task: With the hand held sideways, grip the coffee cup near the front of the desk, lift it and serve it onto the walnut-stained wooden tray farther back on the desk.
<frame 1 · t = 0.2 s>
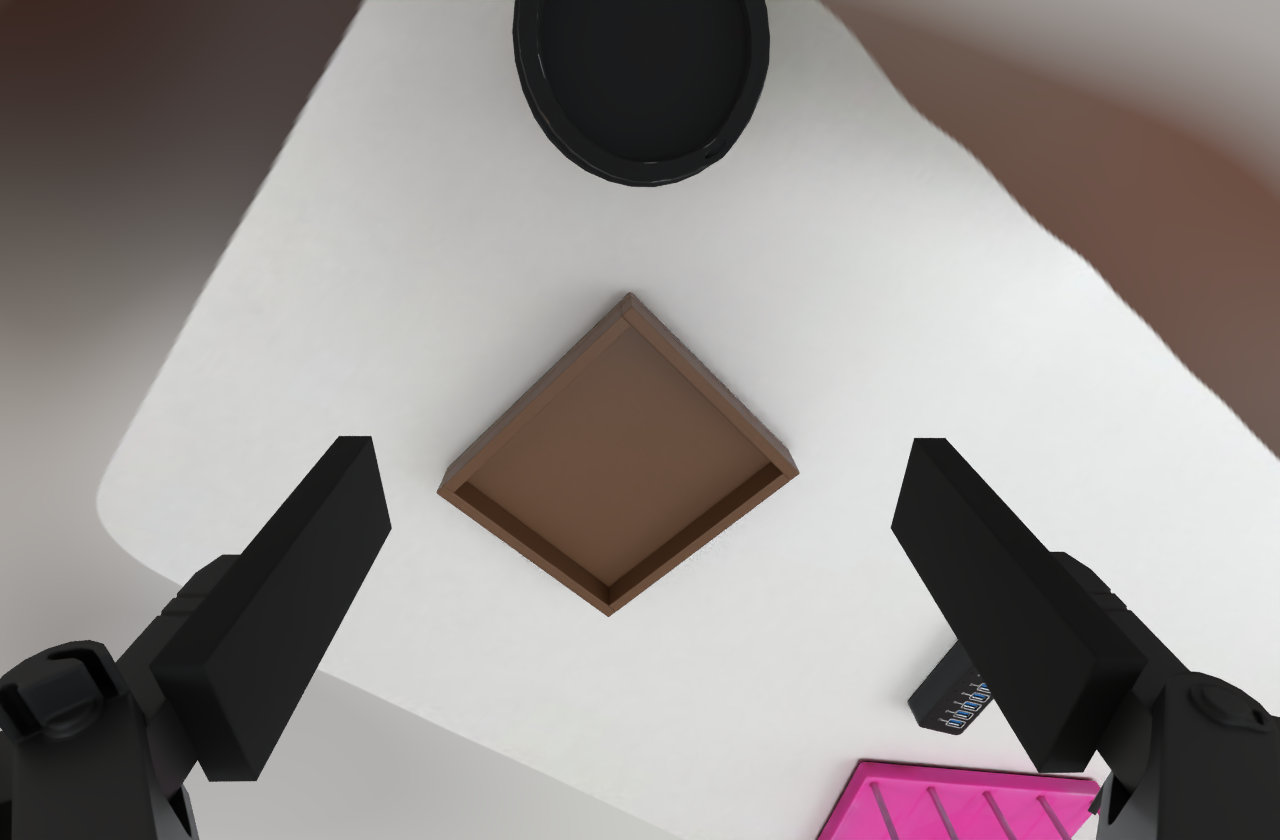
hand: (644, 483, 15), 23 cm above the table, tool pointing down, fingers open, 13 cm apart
multiport hub: (960, 666, 53), on the table
coffee cup: (633, 68, 32), on the table
file sorter: (943, 818, 64), on the table
tray: (618, 459, 42), on the table
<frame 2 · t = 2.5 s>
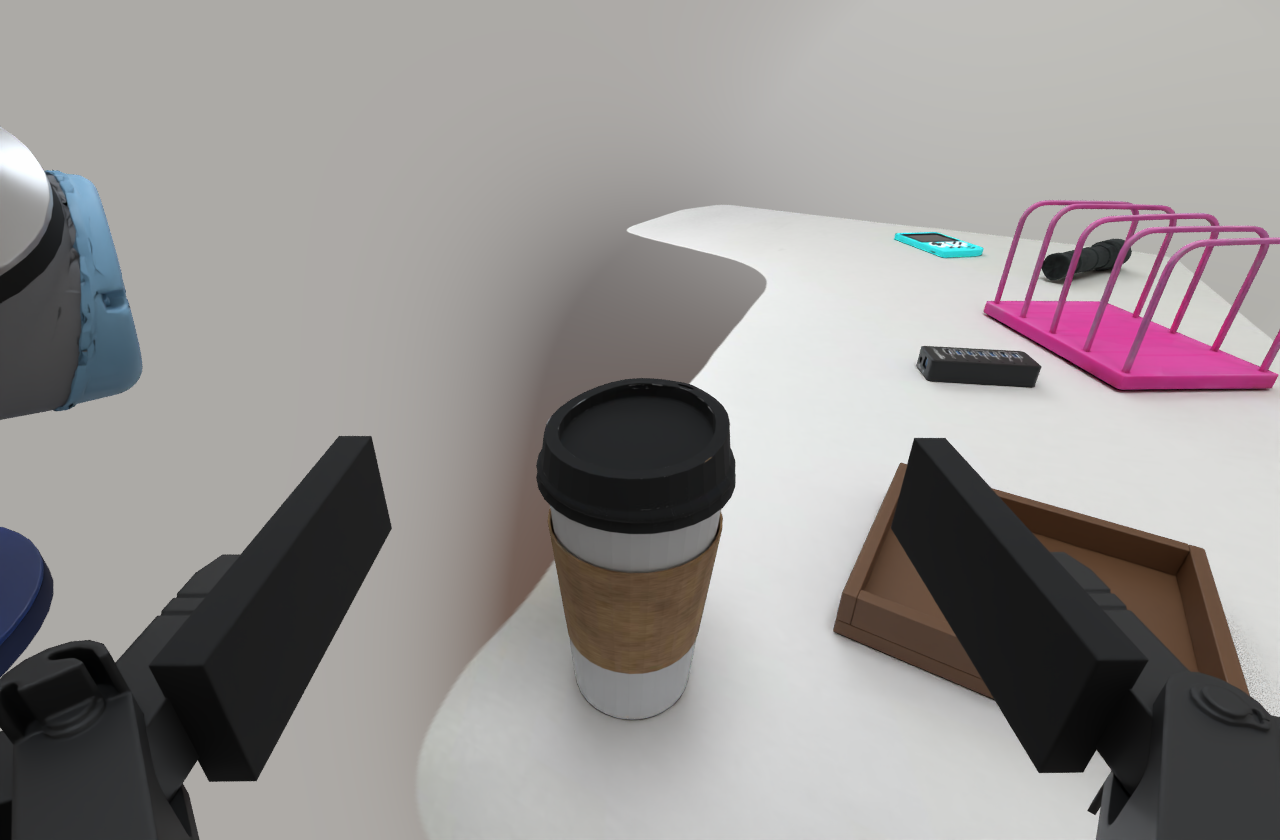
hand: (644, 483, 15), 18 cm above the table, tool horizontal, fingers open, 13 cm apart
multiport hub: (973, 377, 66), on the table
coffee cup: (632, 671, 32), on the table
flashlight: (1080, 275, 105), on the table
handheld game console: (937, 248, 121), on the table
file sorter: (1106, 348, 75), on the table
tray: (1017, 607, 36), on the table
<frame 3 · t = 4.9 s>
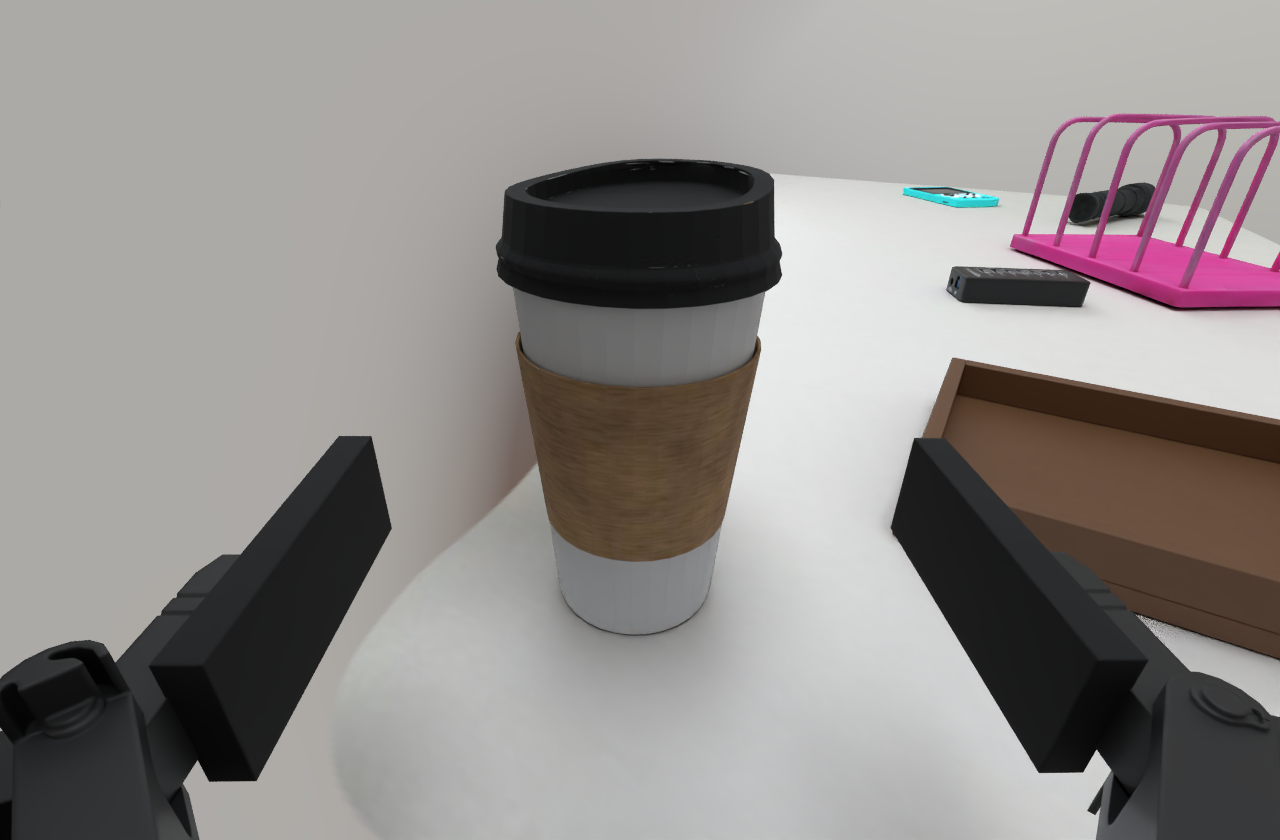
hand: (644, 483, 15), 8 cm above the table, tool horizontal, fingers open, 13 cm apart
multiport hub: (1011, 299, 59), on the table
coffee cup: (634, 581, 24), on the table
flashlight: (1106, 220, 98), on the table
handheld game console: (949, 200, 114), on the table
file sorter: (1150, 275, 68), on the table
tray: (1118, 507, 29), on the table
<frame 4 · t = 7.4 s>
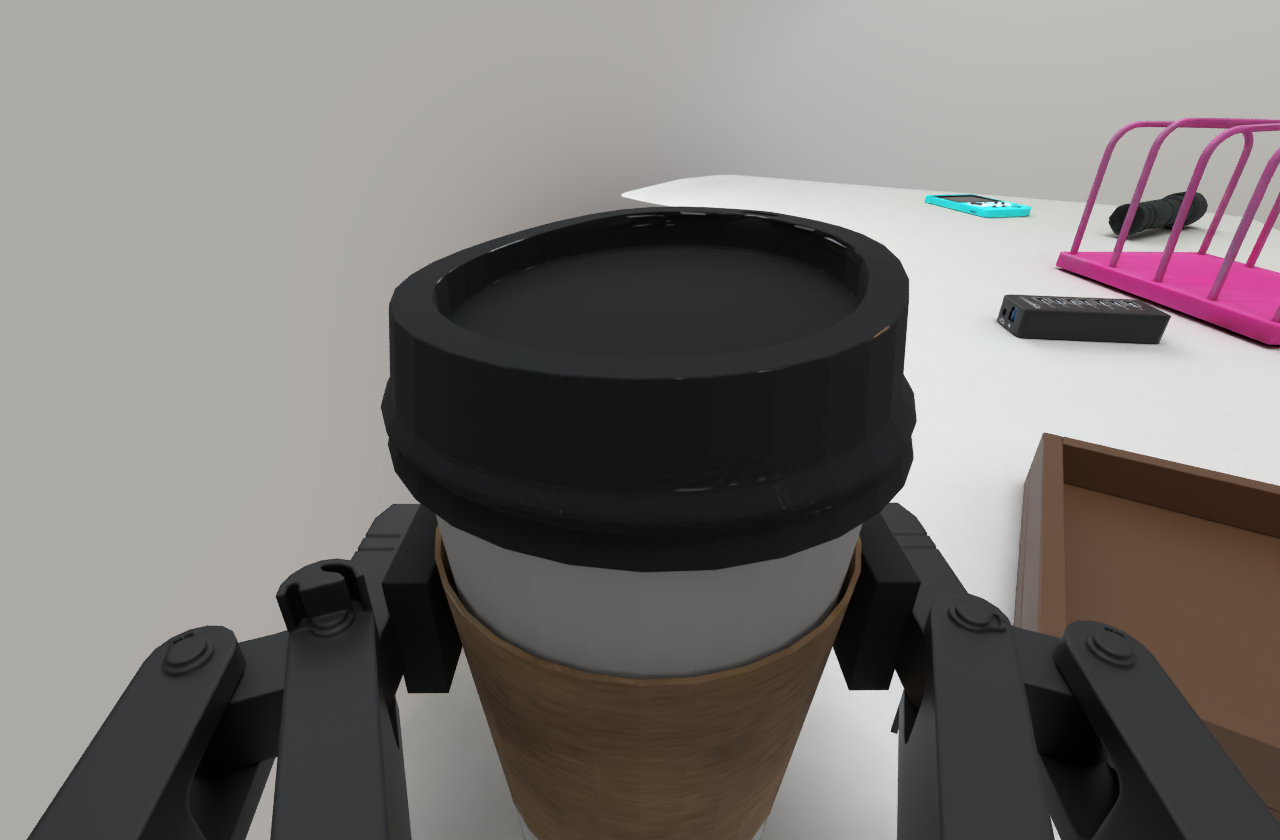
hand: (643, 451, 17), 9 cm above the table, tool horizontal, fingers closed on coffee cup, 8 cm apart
multiport hub: (1073, 333, 51), on the table
coffee cup: (641, 823, 16), on the table, touching gripper
flashlight: (1151, 232, 90), on the table
handheld game console: (976, 209, 106), on the table
file sorter: (1222, 301, 60), on the table
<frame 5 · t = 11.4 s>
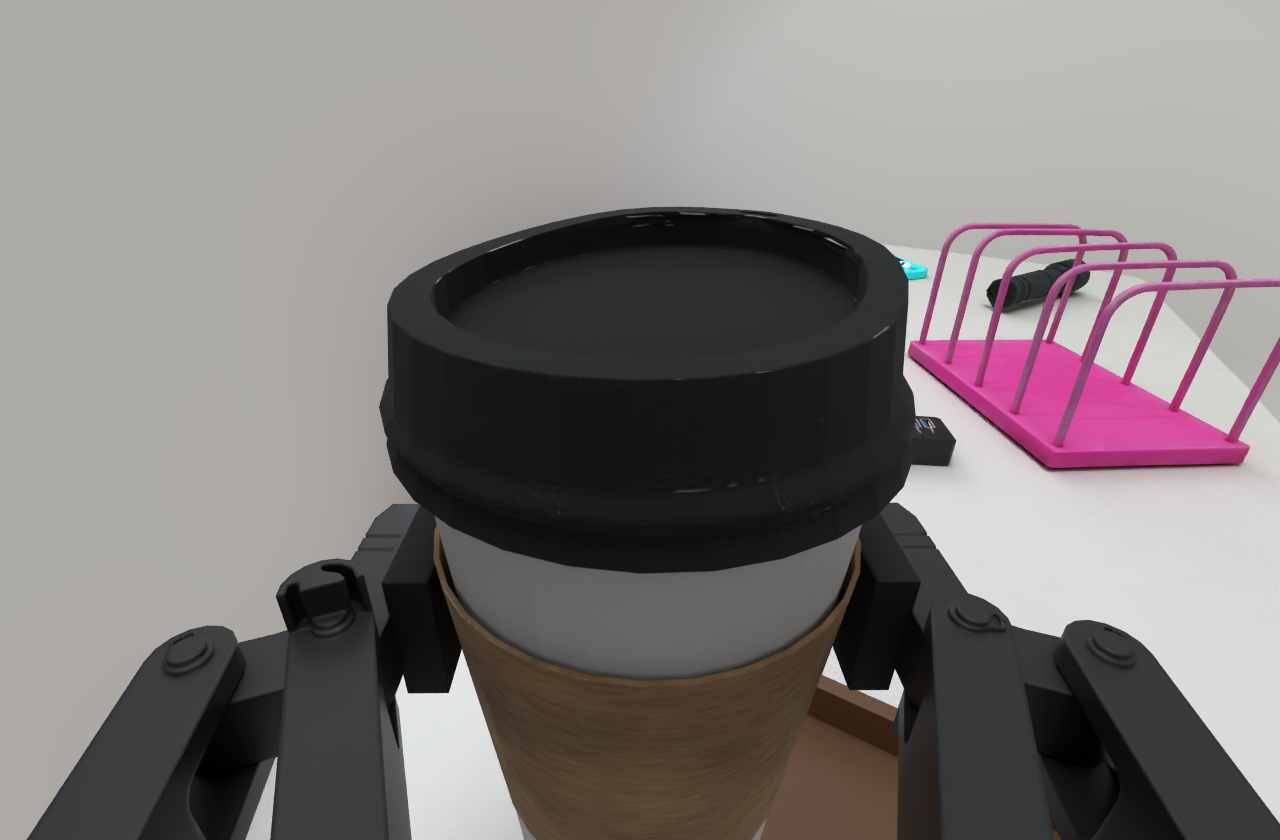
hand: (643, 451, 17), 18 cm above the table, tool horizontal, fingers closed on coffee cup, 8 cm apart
multiport hub: (875, 450, 53), on the table
coffee cup: (640, 824, 16), point 10 cm above the table, touching gripper
flashlight: (1033, 301, 92), on the table
handheld game console: (878, 268, 108), on the table
file sorter: (1045, 402, 62), on the table
when the fingers open (9 cm above the table, at t = 15.2 s): coffee cup stays where it is, resting on tray.
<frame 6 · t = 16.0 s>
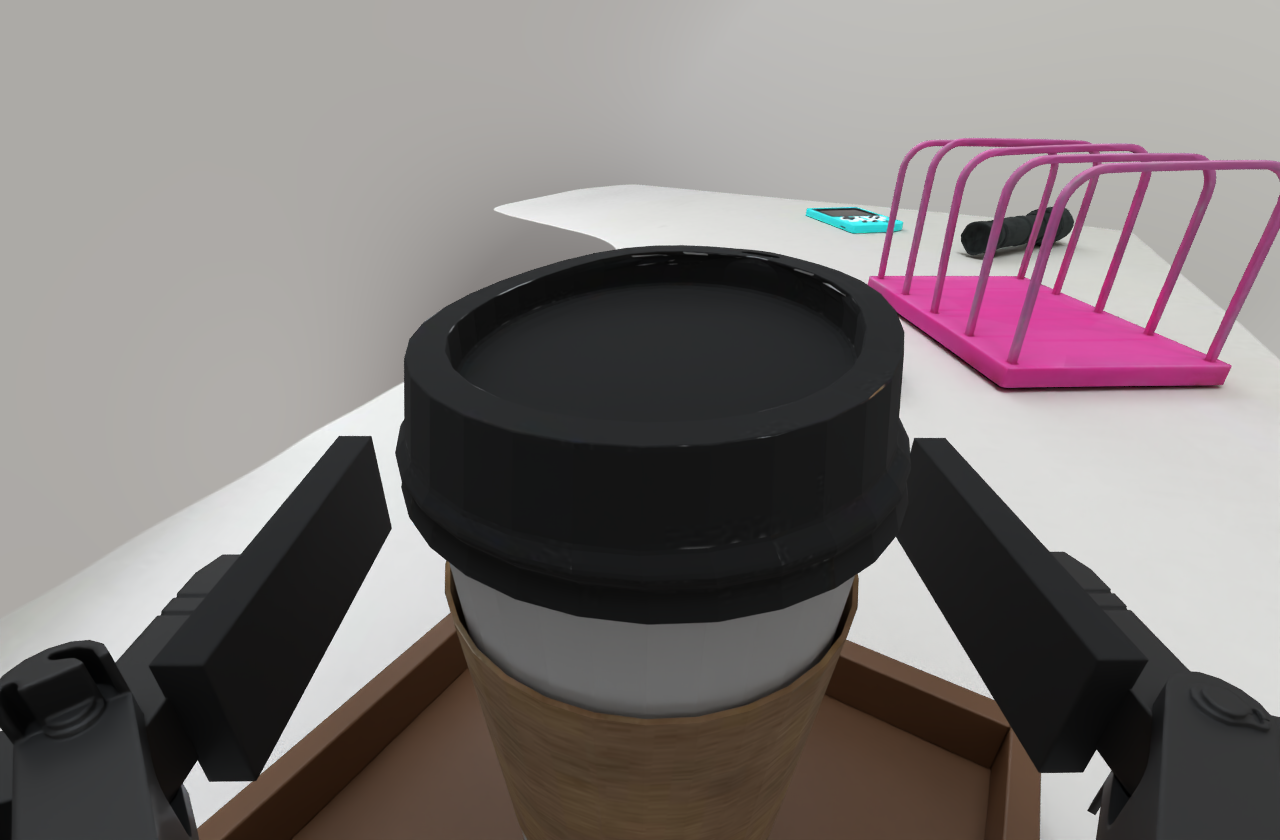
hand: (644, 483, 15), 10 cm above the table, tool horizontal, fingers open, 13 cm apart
flashlight: (1012, 250, 87), on the table
handheld game console: (852, 223, 102), on the table
file sorter: (1010, 333, 56), on the table
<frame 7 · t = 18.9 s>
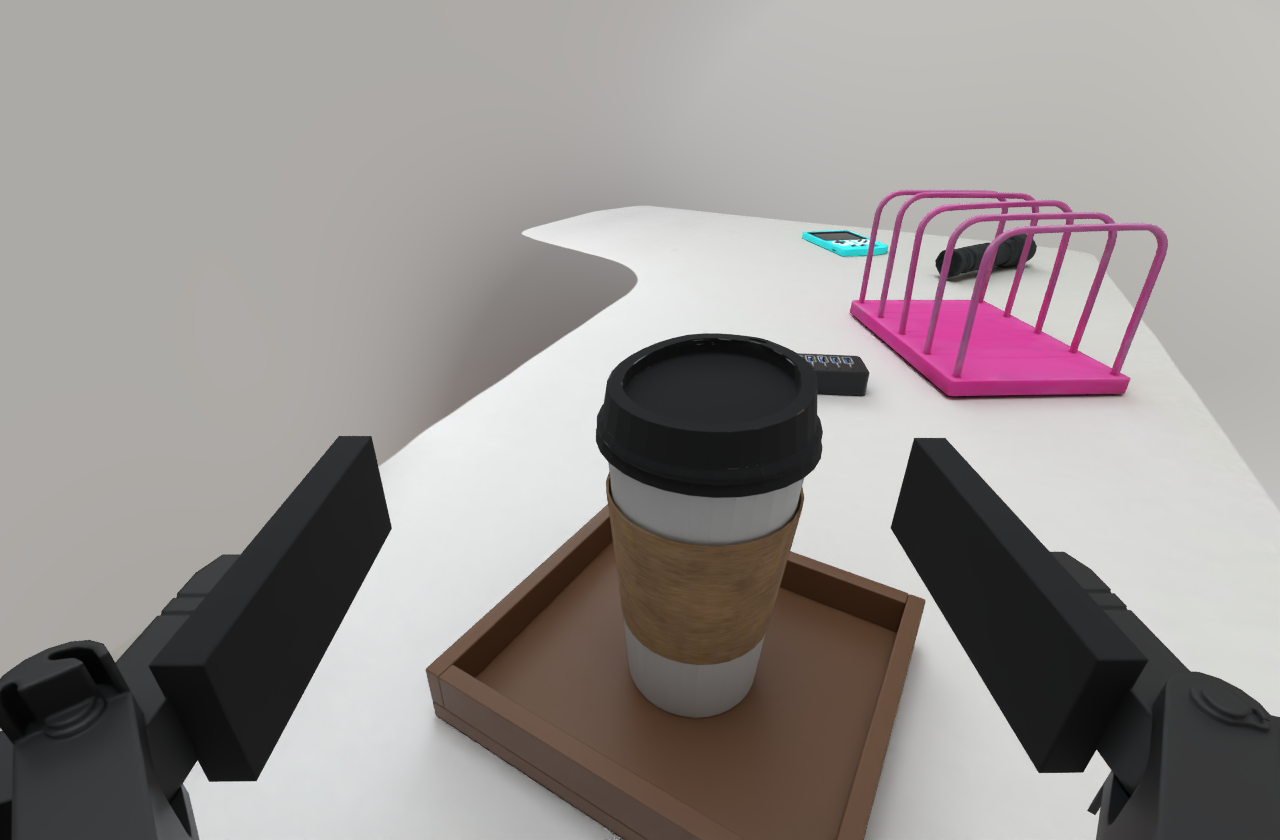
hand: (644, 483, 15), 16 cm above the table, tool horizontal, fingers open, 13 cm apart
multiport hub: (802, 385, 60), on the table
coffee cup: (691, 665, 29), point 1 cm above the table, touching tray
flashlight: (982, 272, 99), on the table
handheld game console: (843, 246, 115), on the table
file sorter: (965, 350, 68), on the table
tray: (689, 676, 29), on the table
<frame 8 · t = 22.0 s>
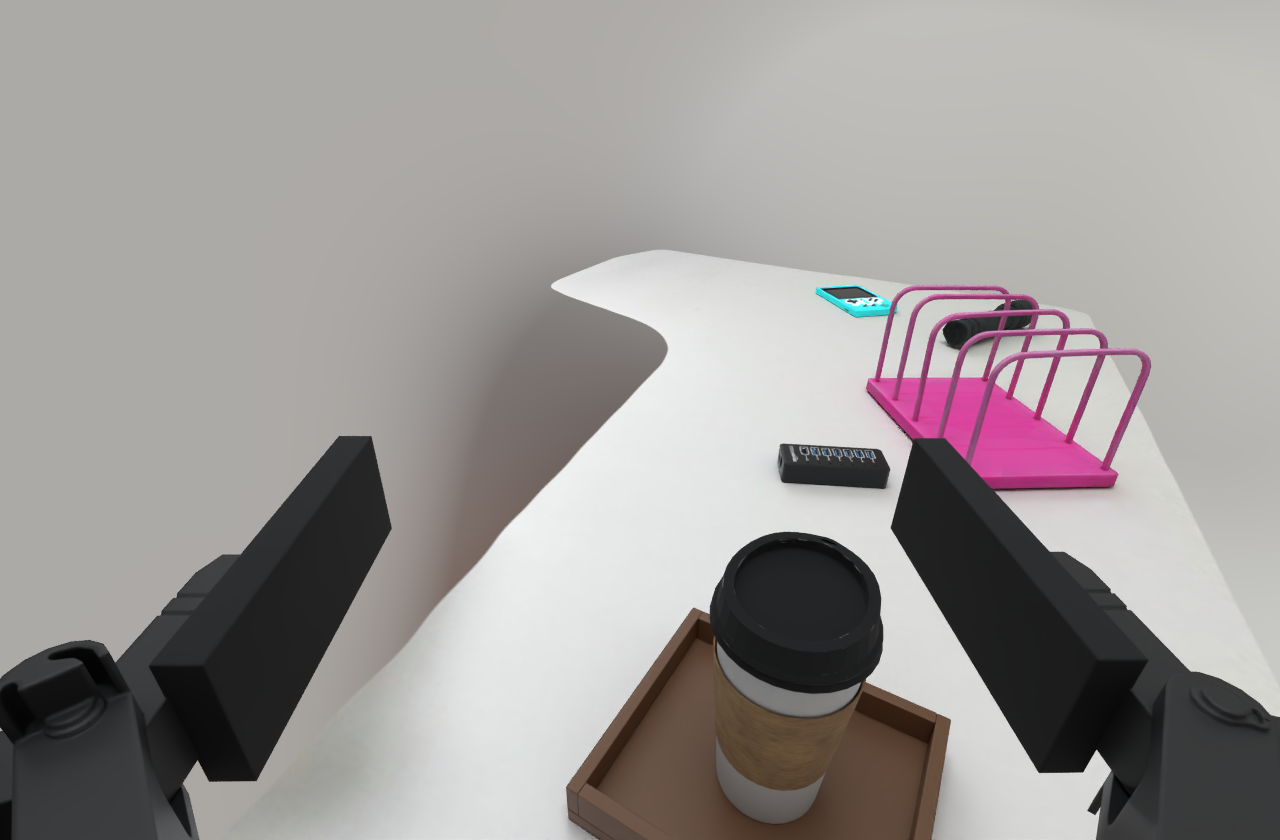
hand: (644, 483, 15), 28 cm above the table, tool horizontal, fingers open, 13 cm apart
multiport hub: (829, 475, 67), on the table
coffee cup: (765, 774, 37), point 1 cm above the table, touching tray
flashlight: (985, 337, 106), on the table
handheld game console: (855, 303, 122), on the table
file sorter: (971, 433, 76), on the table
tray: (763, 782, 37), on the table
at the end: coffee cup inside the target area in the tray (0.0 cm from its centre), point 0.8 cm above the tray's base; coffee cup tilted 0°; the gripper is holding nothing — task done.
